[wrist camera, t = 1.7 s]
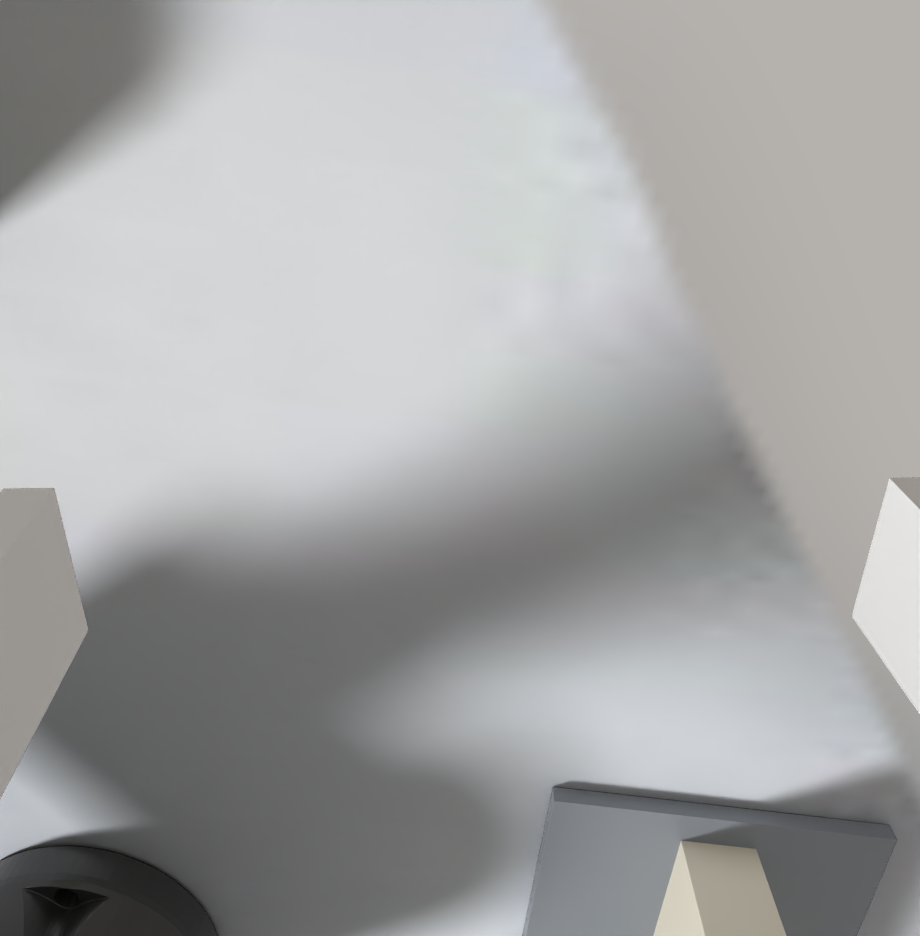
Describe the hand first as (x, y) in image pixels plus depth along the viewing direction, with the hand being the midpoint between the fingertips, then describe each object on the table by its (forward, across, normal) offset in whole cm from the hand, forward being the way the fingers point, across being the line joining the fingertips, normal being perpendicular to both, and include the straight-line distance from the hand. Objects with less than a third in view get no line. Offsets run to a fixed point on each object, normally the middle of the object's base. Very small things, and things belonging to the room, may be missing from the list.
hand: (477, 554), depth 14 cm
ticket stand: (+19, -13, +44) cm, 49 cm away
